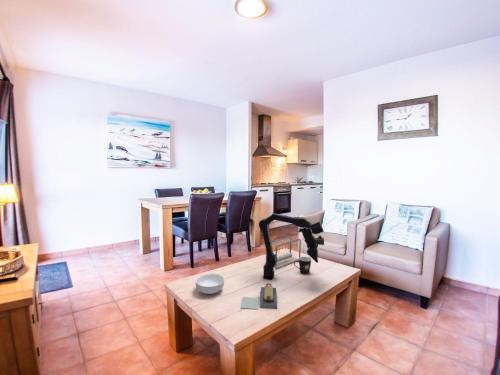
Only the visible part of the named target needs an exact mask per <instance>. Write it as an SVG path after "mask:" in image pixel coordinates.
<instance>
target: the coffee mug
mask: <svg viewBox="0 0 500 375" xmlns="http://www.w3.org/2000/svg"><path fill="white" fill-rule="evenodd" d="M298 259H299V261H295V260H294V261H295V262H294V263H293V265H294V266H295V268H297V269H299V273H300V274H301V275H307V276H308V275H309V274H310V272H311V264H312V258H311V257H310V256H308V257H307V256H300V257H299V256H298ZM296 263H298V264H299V266H296Z"/></svg>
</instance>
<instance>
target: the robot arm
mask: <svg viewBox="0 0 500 375" xmlns="http://www.w3.org/2000/svg"><path fill="white" fill-rule="evenodd" d="M274 221H278V222H282V223H287V224H292V225H294V226H296V227H299V229H298V233H301V235H302V236H303V239H304V241H303V242H305V245H306V248H307V249H306V253H307V256H308V257H309V258H311V260H314V262H316V263H319V259H318V258H319V250H318V248H319V246H324V245H325V238H324V237H322V236H321V235H318V234H322V233H324V228H323V225H322V224H321V221H317V222H314V223H313V222H310V221H308V220H307V218H306V217H304V216H290V215H283V214H279V213H277V212H273V213H272V214H271V215H269V216H268V217H266V218H262V219H261V220H260V221H259V222H258V227H259V230H260V231H261V234H262V238H263V242H264V246H265V253H266V252H267V262H266V261H265V263H264V265H263V276H262V279H266V280H273V279H274V278H275V269H274V268H275V265H276V263H277V264H278V262H277V260H278V259H277V257H278V254H277V255H276V254H275V252H274V250H273V246H272V245H273V244H271V241H272V240H271V236H270V224H271V223H273V222H274ZM313 234H314V235H318V236H317V237H315V236H314V235H313Z"/></svg>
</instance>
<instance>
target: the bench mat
mask: <svg viewBox="0 0 500 375" xmlns="http://www.w3.org/2000/svg"><path fill="white" fill-rule="evenodd" d="M259 301H260V297H253V296H252V297H250V296H242V299H241V303H240V309H241V310H242V309H243V310H244V309H245V310H246V309H247V310H258V309H259Z"/></svg>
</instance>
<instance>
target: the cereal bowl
mask: <svg viewBox="0 0 500 375" xmlns="http://www.w3.org/2000/svg"><path fill="white" fill-rule="evenodd" d="M224 285H225V278H224V276H223V275H221V274H219V273H205V274H201V275H199V276H198V277H197V278H196V279H195V287H196V289H197V291H199V292H200V293H202V294H205V295H212V294H216V293H218V292H220V291H221V290H222V289H223V288H224Z"/></svg>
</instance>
